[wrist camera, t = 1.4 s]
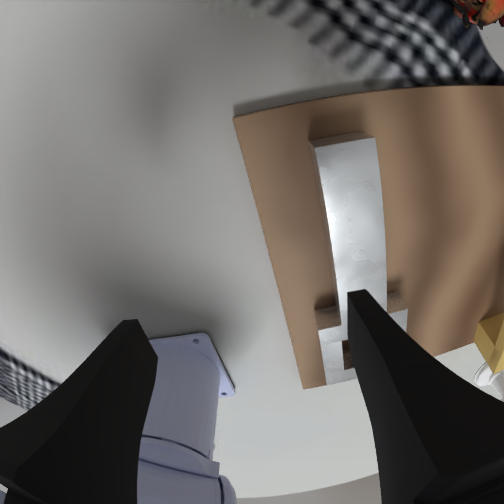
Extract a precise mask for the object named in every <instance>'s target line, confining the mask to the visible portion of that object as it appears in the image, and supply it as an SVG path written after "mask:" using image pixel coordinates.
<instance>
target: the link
mask: <svg viewBox="0 0 504 504" xmlns="http://www.w3.org/2000/svg"><path fill="white" fill-rule="evenodd" d="M308 142H309V147H310V152H311V157H312V162H313V167H314V172H315V177H316V182H317V188H318V193H319V199H320V204H321V210H322V216H323V222H324V228H325V234H326V240H327V246H328V253H329V260H330V267H331V274H332V281H333V288H334V296H335V304H336V306H331V307H327V308H322V309H318V310H314V313H315V319H316V325H317V331H318V337H319V343H320V349H321V355H322V361H323V367H324V373H325V378H326V383H327V385H330V384H335V383H340V382H344V381H349V380H353V379H357V374H356V371H355V368H354V365H353V361H352V356H351V352H350V348H349V349H345V350H342V341H343V340H347V339H348V337H347V292H350V291H356V290H362V289H366V290H367V291H369V293H370V294H371V295H372V296H373V297H374V298H375V300H376V301H377V302H378V303H379V304H380V305H381V307H382V308H383V309H384V310H385V311H386V312H387V313H388V314H389V315H390V316H391V317H392V318H393V320H394V321H395V322H396V323H397V324H398V325H399V326H400V327H401V328H402V329H403V330H404V331H405V332H406V327H407V314H408V308H407V306H406V305H405V303H404V301H403V299H402V297H401V296H400V294H399V292H398V291H395V292H391V293H387V271H386V243H385V226H384V212H383V200H382V189H381V179H380V170H379V162H378V154H377V147H376V140H375V137H373V136H371V135H369V134H367V133H365V132H363V131H359V132H353V133H347V134H341V135H336V136H330V137H325V138H320V139H314V140H309V141H308Z"/></svg>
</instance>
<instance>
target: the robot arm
mask: <svg viewBox="0 0 504 504" xmlns="http://www.w3.org/2000/svg"><path fill="white" fill-rule="evenodd" d="M347 337H348V341H349V347H350V352H351V356H352V361H353V365H354V368H355V371H356V374H357V378H358V381H359V384H360V387H361V390H362V394H363V397H364V400H365V403H366V407H367V410H368V413H369V417H370V421H371V425H372V430H373V436H374V442H375V448H376V455H377V462H378V470H379V478H380V488H381V497H382V498H381V499H382V504H504V402H502V401H500V400H498V399H496V398H495V397H493V396H491V395H489V394H487V393H485V392H483V391H482V390H480V389H478V388H477V387H475V386H474V385H472V384H470V383H469V382H467V381H466V380H464V379H462V378H461V377H459V376H458V375H456V374H455V373H454V372H452V371H451V370H450V369H448V368H447V367H445V366H444V365H443V364H442V363H440V362H439V361H438V360H436V359H435V358H434V357H433V356H432V355H430V354H429V353H428V352H427V351H426V350H425V349H423V348H422V347H421V346H420V345H419V344H418V343H417V342H416V341H415V340H414V339H413V338H411V337H410V336H409V335H408V334H407V333H406V332H405V331H404V330H403V329H402V328H401V327H400V326H399V325H398V324H397V323H396V322H395V321H394V320H393V318H392V317H391V316H390V315H389V314H388V313H387V312H386V311H385V310H384V309H383V308H382V307H381V305H380V304H379V303H378V302H377V301H376V300H375V298H374V297H373V296H372V295H371V294H370V293H369V291H367V290H366V289H362V290H356V291H350V292H347ZM195 339H198V340H195ZM233 395H235V389H234V387H233V385H232V383H231V381H230V379H229V377H228V375H227V373H226V371H225V369H224V367H223V365H222V362H221V360H220V358H219V356H218V354H217V352H216V350H215V348H214V346H213V344H212V342H211V339H210V337H209V336H208V335H207V334H206V333H196V334H189V335H182V336H175V337H167V338H160V339H152V340H148V338H147V336H146V334H145V333H144V331H143V329H142V327H141V325H140V323H139V321H138V319H133V320H123V321H122V322H121V323H120V324H119V325H118V326H117V327H116V328H115V329H114V330H113V331H112V332H111V333H110V334H109V335H108V336H107V337H106V338H105V339H104V340H103V341H102V342H101V344H100V345H99V346H98V347H97V348H96V349H95V350H94V351H93V352H92V353H91V354H90V356H89V357H88V358H87V359H86V360H85V361H84V362H83V363H82V364H81V365H80V366H79V367H78V368H77V369H76V370H75V371H74V372H73V373H72V374H71V375H70V376H69V377H68V378H67V379H66V380H65V381H64V382H63V383H62V384H61V385H60V386H59V387H58V388H57V389H55V390H54V391H53V392H52V393H51V394H50V395H48V396H47V397H46V398H45V399H44V400H42V401H41V402H39V403H38V404H37V405H35V406H34V407H33V408H31V409H30V410H29V411H27V412H26V413H25V414H23V415H21V416H20V417H18V418H17V419H15V420H13V421H12V422H10V423H8V424H7V425H5V426H3V427H1V428H0V484H2V485H3V486H5V487H6V488H8V491H7V494H6V493H5V492H3V491H1V490H0V504H237V500H236V494H235V490H234V488H233V486H232V485H231V483H230V481H229V480H228V478H227V477H225V476H223V475H219V465H220V463H219V462H215V461H212V459H213V448H214V437H215V427H216V416H217V406H218V397H227V396H233Z"/></svg>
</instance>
